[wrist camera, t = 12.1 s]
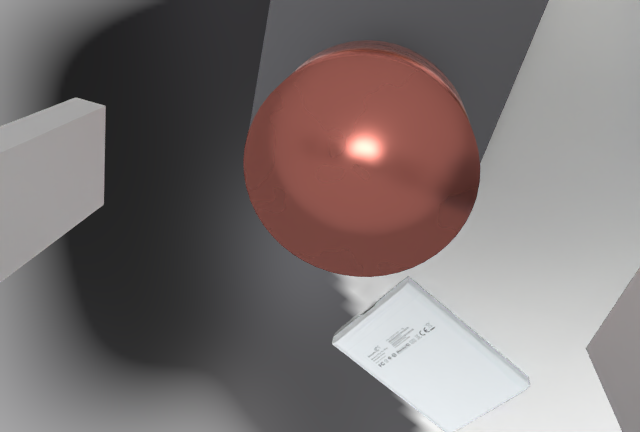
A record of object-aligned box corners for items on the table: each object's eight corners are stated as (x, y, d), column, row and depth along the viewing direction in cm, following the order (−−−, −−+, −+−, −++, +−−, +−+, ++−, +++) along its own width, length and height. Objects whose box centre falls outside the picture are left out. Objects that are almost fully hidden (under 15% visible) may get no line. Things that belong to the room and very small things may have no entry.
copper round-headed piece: (423, 149, 29) (431, 301, 16) (310, 117, 30) (228, 242, 16) (466, 28, 26) (521, 95, 13) (338, -7, 26) (264, 25, 13)
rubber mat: (556, -28, 25) (560, -28, 24) (457, 209, 32) (458, 215, 31) (290, -98, 25) (286, -99, 25) (248, 150, 32) (244, 154, 31)
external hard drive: (446, 419, 41) (333, 332, 39) (527, 370, 37) (408, 271, 35) (447, 436, 39) (330, 346, 37) (531, 387, 36) (408, 284, 34)
